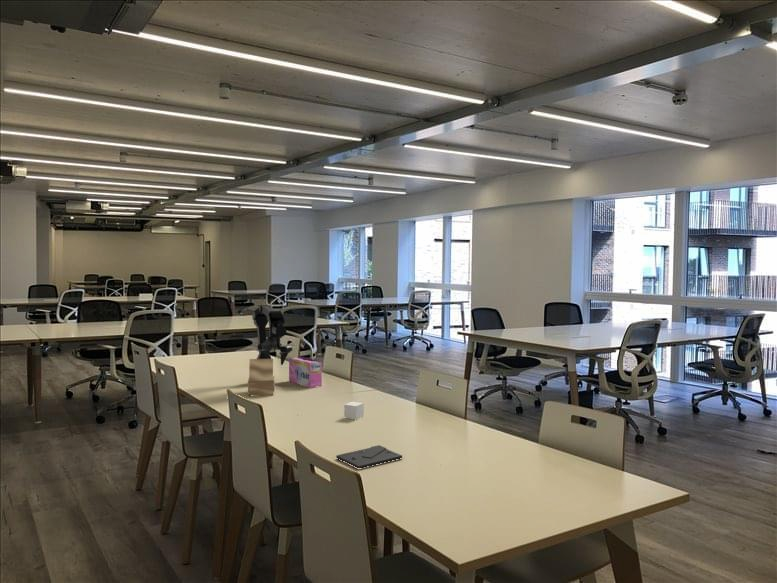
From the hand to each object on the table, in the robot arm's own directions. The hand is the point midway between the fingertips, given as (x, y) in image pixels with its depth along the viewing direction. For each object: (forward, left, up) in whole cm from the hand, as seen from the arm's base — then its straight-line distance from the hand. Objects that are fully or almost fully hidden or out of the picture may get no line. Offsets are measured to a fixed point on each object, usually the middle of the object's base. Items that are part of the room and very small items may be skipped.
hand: (274, 363), depth 311 cm
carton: (+5, -10, -13) cm, 17 cm away
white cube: (+72, +5, -14) cm, 74 cm away
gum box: (-4, +20, -14) cm, 24 cm away
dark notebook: (+122, -19, -14) cm, 125 cm away
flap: (+8, -11, -1) cm, 14 cm away
